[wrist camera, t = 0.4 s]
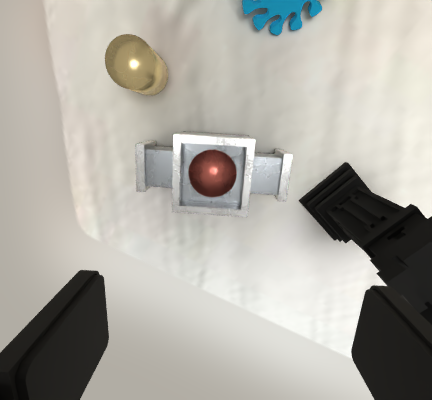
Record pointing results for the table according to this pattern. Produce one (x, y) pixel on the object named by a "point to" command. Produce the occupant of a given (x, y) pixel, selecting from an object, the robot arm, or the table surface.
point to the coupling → (135, 65)
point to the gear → (280, 12)
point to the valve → (212, 172)
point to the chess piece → (378, 233)
